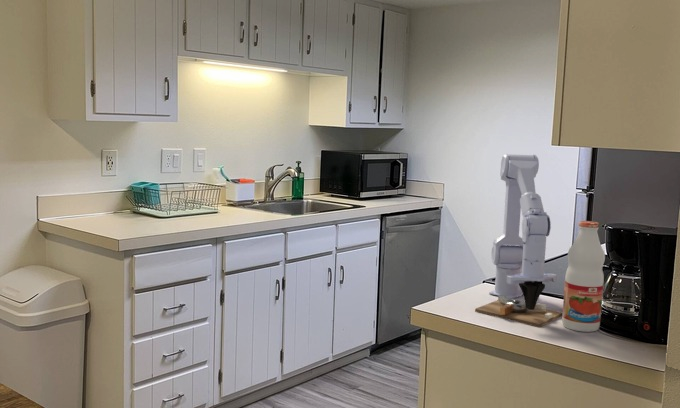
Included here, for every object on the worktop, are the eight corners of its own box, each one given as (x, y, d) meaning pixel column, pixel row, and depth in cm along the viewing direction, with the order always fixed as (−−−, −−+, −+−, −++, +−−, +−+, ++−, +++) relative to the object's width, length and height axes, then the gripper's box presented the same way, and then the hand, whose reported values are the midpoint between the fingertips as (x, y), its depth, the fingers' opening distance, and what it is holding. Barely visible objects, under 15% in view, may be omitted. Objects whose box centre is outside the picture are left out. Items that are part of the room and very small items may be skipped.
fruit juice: (590, 321, 178) (599, 219, 174) (605, 333, 168) (615, 225, 165) (556, 321, 177) (564, 218, 173) (569, 332, 168) (578, 224, 164)
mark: (548, 316, 179) (548, 312, 178) (552, 317, 178) (552, 313, 178) (544, 318, 177) (544, 314, 177) (548, 319, 176) (548, 315, 176)
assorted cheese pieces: (499, 301, 192) (500, 292, 191) (547, 311, 182) (548, 302, 182) (478, 309, 182) (478, 300, 182) (527, 321, 173) (527, 311, 172)
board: (500, 301, 195) (500, 298, 195) (562, 315, 182) (562, 312, 182) (475, 311, 184) (475, 308, 184) (539, 327, 171) (539, 324, 171)
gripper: (518, 263, 169) (515, 314, 171) (565, 261, 174) (561, 311, 176) (503, 257, 176) (500, 307, 178) (549, 256, 181) (545, 303, 182)
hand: (530, 308), depth 177 cm, fingers closed
